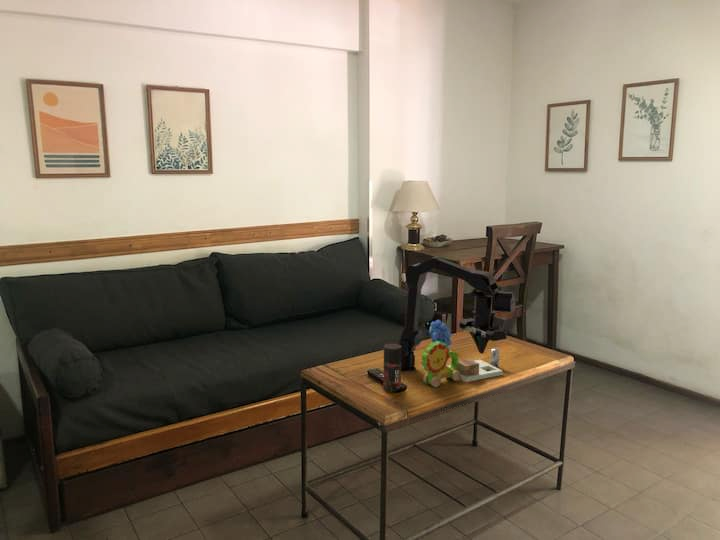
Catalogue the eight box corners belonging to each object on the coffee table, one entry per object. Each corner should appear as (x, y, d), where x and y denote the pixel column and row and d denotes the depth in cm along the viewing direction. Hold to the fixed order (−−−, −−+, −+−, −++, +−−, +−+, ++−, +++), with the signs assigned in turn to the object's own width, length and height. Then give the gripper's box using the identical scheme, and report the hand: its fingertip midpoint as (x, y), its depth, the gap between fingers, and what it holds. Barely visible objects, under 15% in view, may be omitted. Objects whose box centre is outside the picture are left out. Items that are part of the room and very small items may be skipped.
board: (466, 382, 204) (466, 376, 204) (445, 370, 216) (445, 365, 215) (502, 374, 211) (502, 369, 211) (479, 363, 223) (480, 358, 222)
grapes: (422, 347, 242) (422, 319, 240) (433, 344, 246) (434, 316, 244) (443, 354, 233) (444, 325, 231) (454, 350, 237) (455, 322, 235)
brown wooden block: (465, 375, 205) (465, 366, 204) (455, 370, 210) (455, 361, 209) (478, 373, 207) (479, 363, 207) (468, 367, 213) (468, 358, 212)
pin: (493, 369, 217) (494, 351, 216) (488, 366, 220) (489, 348, 218) (500, 367, 218) (501, 350, 217) (495, 365, 221) (495, 347, 220)
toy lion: (450, 375, 210) (452, 335, 207) (461, 380, 206) (463, 339, 203) (417, 385, 201) (418, 343, 198) (428, 390, 197) (429, 347, 194)
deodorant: (390, 383, 202) (390, 342, 199) (404, 388, 199) (405, 345, 196) (379, 388, 198) (380, 346, 195) (393, 393, 194) (394, 350, 191)
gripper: (520, 312, 193) (518, 357, 196) (484, 300, 210) (482, 342, 212) (493, 316, 188) (492, 362, 191) (459, 304, 205) (457, 346, 207)
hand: (481, 353), depth 201 cm, fingers closed
